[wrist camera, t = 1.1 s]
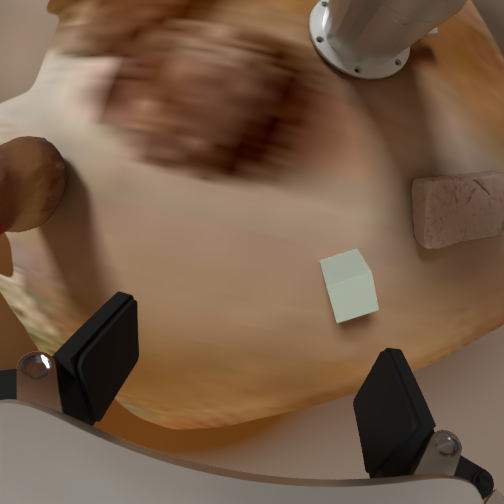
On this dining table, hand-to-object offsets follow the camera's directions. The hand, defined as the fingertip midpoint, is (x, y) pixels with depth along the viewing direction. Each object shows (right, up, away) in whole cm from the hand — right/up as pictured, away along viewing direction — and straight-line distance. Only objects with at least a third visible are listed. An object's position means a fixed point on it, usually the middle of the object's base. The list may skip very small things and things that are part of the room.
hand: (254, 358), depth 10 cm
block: (+12, +1, +26) cm, 28 cm away
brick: (+28, +11, +21) cm, 36 cm away
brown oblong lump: (-31, +16, +26) cm, 43 cm away
